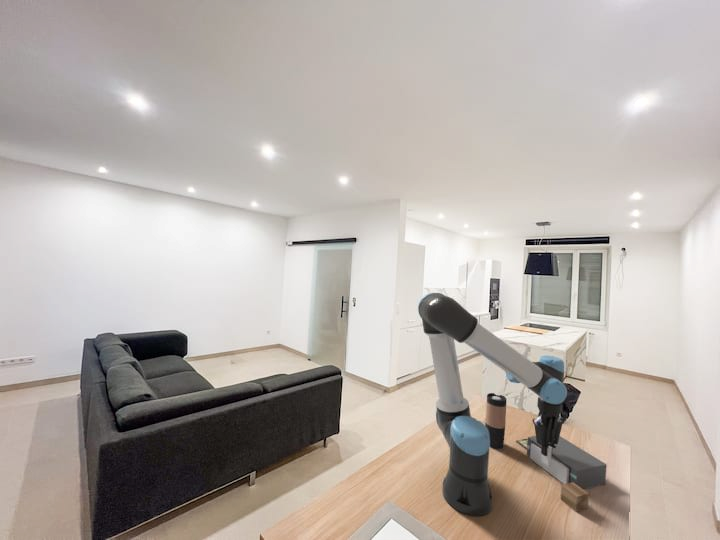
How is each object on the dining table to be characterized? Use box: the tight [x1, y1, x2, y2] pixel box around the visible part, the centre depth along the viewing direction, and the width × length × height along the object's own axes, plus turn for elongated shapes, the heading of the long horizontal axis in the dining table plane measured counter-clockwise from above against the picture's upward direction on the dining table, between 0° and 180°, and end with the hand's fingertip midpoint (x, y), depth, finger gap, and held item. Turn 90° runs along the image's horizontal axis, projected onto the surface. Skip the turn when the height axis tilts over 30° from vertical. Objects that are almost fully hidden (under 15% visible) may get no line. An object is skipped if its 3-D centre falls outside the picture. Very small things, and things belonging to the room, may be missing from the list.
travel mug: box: [484, 392, 507, 450], centre depth 126 cm, size 8×8×20 cm
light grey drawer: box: [529, 443, 571, 485], centre depth 112 cm, size 13×15×6 cm
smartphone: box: [515, 438, 528, 451], centre depth 122 cm, size 8×15×1 cm, turn 17°
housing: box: [526, 435, 607, 490], centre depth 113 cm, size 15×20×7 cm
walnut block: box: [560, 482, 590, 513], centre depth 95 cm, size 5×5×5 cm
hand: (546, 463), depth 110 cm, fingers closed
